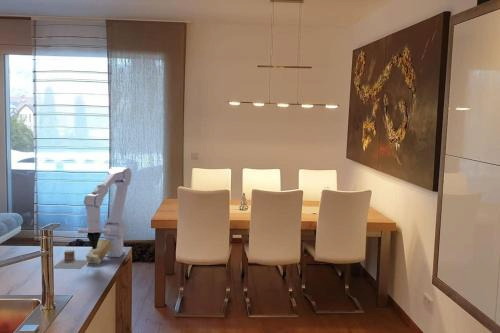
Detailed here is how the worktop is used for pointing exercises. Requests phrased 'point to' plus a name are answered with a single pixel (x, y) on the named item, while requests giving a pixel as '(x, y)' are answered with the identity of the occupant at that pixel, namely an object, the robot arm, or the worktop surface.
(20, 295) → the worktop surface
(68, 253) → the walnut cube
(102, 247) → the skincare box
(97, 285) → the worktop surface
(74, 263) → the felt mat
